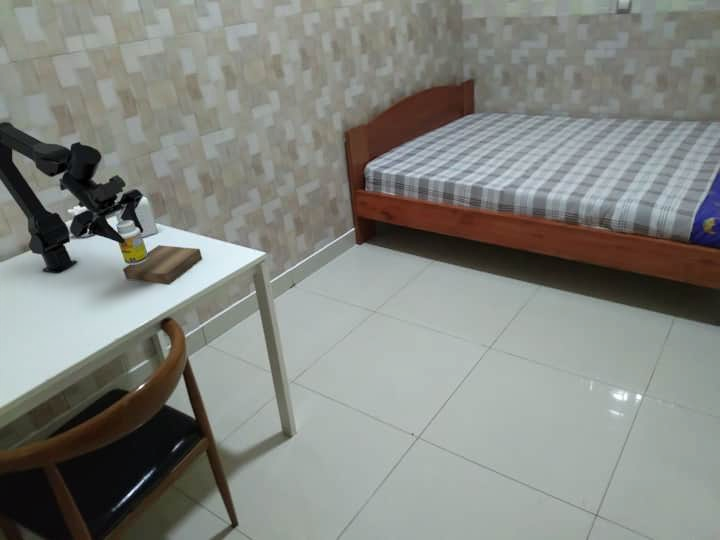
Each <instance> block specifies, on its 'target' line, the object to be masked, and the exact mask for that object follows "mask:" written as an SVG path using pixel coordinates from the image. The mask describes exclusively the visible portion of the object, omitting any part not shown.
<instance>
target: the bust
mask: <svg viewBox="0 0 720 540" xmlns="http://www.w3.org/2000/svg"><path fill="white" fill-rule="evenodd" d="M84 211H89V210H88V209H87V208H86V207H85V206H84V207H80V206H79V205H76V206H74V207H73V208H72V209H67V212H68V214H71V216H72V219H71V220H68V221H65V222H64V223H65V224H66V226H67V227H68V230H69V234H71V235H72V236H74V235H73V234H72V233H71V231H70V226H71V223H72V221H73V218H74V216H76V215H78V214H80V213H82V212H84ZM88 232H89V229H88V231H87V233H86V234H84V235H82V236H80V238H86V237H90V236H93V235H94V234H92V235H89V234H88Z"/></svg>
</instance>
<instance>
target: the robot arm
mask: <svg viewBox="0 0 720 540" xmlns="http://www.w3.org/2000/svg"><path fill="white" fill-rule="evenodd" d="M69 148H70V149H69ZM69 148H68V147H66V146H64V145H60V144H57V143H46V142H43V141H41V140H39V139H38V138H35V137H33V136H32V135H30V134H28V133H26V132H24V131H22V130H21V129H18V128H17V127H14V125H13V124H12V123H11V122H9V121H3V122H0V181H1V182H2V184H3V185H4V187H5V189H6V190H7V191H8V192H9V194H10V196H11V197H12V198H13V200H14V202H15V203H16V204H17V205H18V207H19V208H20V209H21V211H22V212H23V215H24V216H25V217H26V218H27V232H28V233H29V235H30V236H31V237H30V241H29V243H28V248H29V249H30V251H31V252H32V254H36V255H41V257H42V259H43V261H44V263H45V265H46V267H44V268H42V271H43V272H47V273H49V272H50V273H56V274H58V273H62V272H63V271H64V270H66V269H68V268H70V267H73V265H75V264H77V263H78V261H77V260H74V259H72V258H71V257H70V255H69V252H68V250H67V248H66V246H65V244H68V243H70V242H71V238H70V234H71V233H72V234H73V235H72V234H71V235H72V236H73V237H75V238H77V239H79V238H81V236H82V235H84V234H86V233H87V231H88V229H89V232H88V234H89V235H91V236H93V235H95V236H98V237H102V238H104V239H105V238H106V239H109V240H112V241H113V242H117V243H118V242H119V243H122V244H123V243H124V242H125V240H124V239H123V238H122V237H121V235H120V234H119V233H118V230H117V231H116V230H115V229H114V227H113V226H111V224H109V222H108V220H107V218H106V217H109V216H111V215H112V214H115V212H117V211H119V212H120V213H121V214H122V216H121V219H122V220H124V221H126V220H132V221H133V222H134V225H135V227H138V228H139V229H140V232H141V233H143V228H142V226H141V224H140V222H139V220H138V218H137V215H136V212H135V209H136V208H137V207H138V205H139V203H140V201H141V199H142V197H144V194H143V193H142V192H141V191H140V190H139V189H136V188H133V189H130V190H129V191H125V192H124V189H123V188H125V187H126V182H125V181H124V179H123V178H122V177H120V175H118V174H115V175H114V176H112V177H110V178H109V179H108V181H107V182H106V183H104V184H103V183H101V182H100V183H97V182H95V180H94V179H93V178H94V177H95V176H96V174H97V170H98V169H99V166H100V163H101V160H102V154H101V152H100V151H99V150H98V149H97V148H95V147H92V146H89V145H84V144H82V143H81V142H80V141H77V142H74V143H72V144H71V145H70V147H69ZM13 151H15V152H17V153H19V154H21V155H23V156H24V157H27V158H28V159H30V160H31V161H33V163H34V164H35V168H36V169H37V170H39V171H40V173H41V172H42V173H43V174H44V175H46V176H47V177H49V178H53V177H55V176H59V175H62V177H61V178H60V179H58V180H59V188H60V191H65V190H67V191H68V192H69V193H71V194H72V196H74V197H75V199H77V201H79V202H78V204H77V206H80V207H86V208H87V209H88V210H86V211H84V212H82V213H80V214H78V215H76V216H74V218H73V217H72V220H73V221H72V223H71V226H70V231H71V233H70V232H69V230H68V227H67V226H66V224H65V223H66V222H64V221H63V220H62V217H61V215H60V214H59V213H57V212H51V211H49V210H47V209H46V208H45V206H44V205H43V204H42V202H41V201H40V199H39V197H38V196H37V195H36V193H35V192H34V190H33V189H32V187H31V186H30V184H29V183H28V181H27V180H26V179H25V177H24V176H23V174H22V173H21V171H20V170H19V168H18V167H17V166H16V163H14V160H13ZM123 192H124V193H123ZM120 193H122V195H121V198H120V200H119V201H117V200H118V197H119V196H118V194H120ZM92 234H93V235H92ZM119 243H118V244H119Z"/></svg>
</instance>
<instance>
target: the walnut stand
mask: <svg viewBox="0 0 720 540" xmlns="http://www.w3.org/2000/svg"><path fill="white" fill-rule="evenodd" d="M147 253H148V259H147V260H146V261H144V262H143V263H140V264H136V265H129V264H127V265H126V266H125V267H124V268H123V269H122V271H123V273H124V277H125V280H131V281H140V282H148V283H156V284H162V285H171V284H172V283H173V282H175V281H176V280H177V279H178V278H179V277H181V276H182V275H183V274H185V273H186V272H187V271H188V270H190V269H191V268H192V267H194V266H195V265H197V264H198V262H200V261H202V260H203V257H202V253H201V249H200V248H193V247H184V246H183V247H182V246H172V245H171V246H170V245H157V246H155V247H154V248H152V249H151V250H149V251H147Z"/></svg>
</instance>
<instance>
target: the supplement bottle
mask: <svg viewBox="0 0 720 540" xmlns="http://www.w3.org/2000/svg"><path fill="white" fill-rule="evenodd" d="M115 226H116V230H117V232H118V233H119V234H120V235H121V237H122V238H123V239H124V240H125V242H124V243H123V244H122V243H119V242H117V244H118V245H119V249H120V252H121V254H122V257H123V259H124V263H125V264H127V265H136V264H140V263H143V262H144V261H146V260H147V259H148V251H147V247H146V244H145V241H144V237H142V235H141V232H140V229H139V228H138V227H135V225H134V222H133V221H132V220H126V221H122V222H119V223H118V222H117V224H116V225H115Z"/></svg>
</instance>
